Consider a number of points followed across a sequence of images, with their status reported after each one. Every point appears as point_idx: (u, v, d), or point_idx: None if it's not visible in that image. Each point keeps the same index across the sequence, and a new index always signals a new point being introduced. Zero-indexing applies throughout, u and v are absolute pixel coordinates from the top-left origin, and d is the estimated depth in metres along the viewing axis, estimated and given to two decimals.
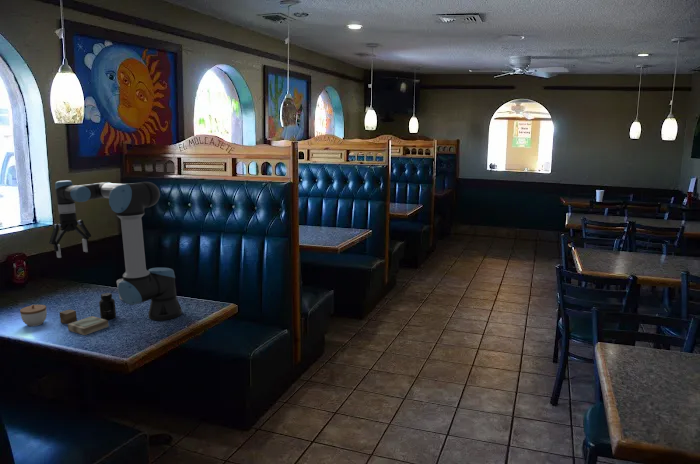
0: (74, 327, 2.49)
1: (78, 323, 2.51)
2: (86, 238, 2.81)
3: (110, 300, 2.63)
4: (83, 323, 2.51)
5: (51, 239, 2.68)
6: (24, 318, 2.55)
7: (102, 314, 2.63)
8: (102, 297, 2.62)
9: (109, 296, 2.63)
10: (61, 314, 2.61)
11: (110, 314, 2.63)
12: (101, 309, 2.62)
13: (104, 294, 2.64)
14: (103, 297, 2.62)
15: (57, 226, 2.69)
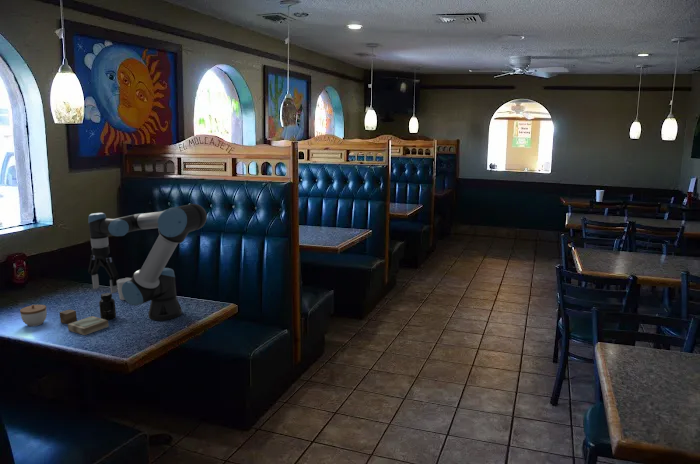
0: (74, 327, 2.49)
1: (78, 323, 2.51)
2: None
3: (110, 300, 2.63)
4: (83, 323, 2.51)
5: None
6: (24, 318, 2.55)
7: (102, 314, 2.63)
8: (102, 297, 2.62)
9: (109, 296, 2.63)
10: (61, 314, 2.61)
11: (110, 314, 2.63)
12: (101, 309, 2.62)
13: (104, 294, 2.64)
14: (103, 297, 2.62)
15: (90, 257, 2.63)
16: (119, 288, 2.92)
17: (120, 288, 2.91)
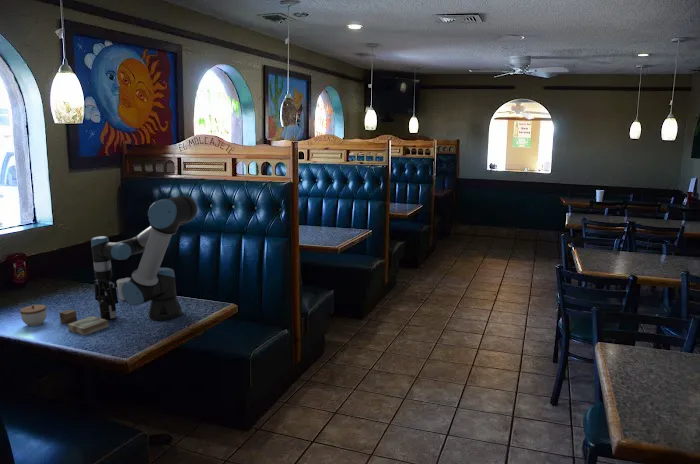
0: (74, 327, 2.49)
1: (78, 323, 2.51)
2: (110, 304, 2.62)
3: None
4: (83, 323, 2.51)
5: None
6: (24, 318, 2.55)
7: (102, 314, 2.63)
8: (102, 297, 2.62)
9: None
10: (61, 314, 2.61)
11: None
12: (101, 309, 2.62)
13: (104, 294, 2.64)
14: (103, 297, 2.62)
15: (94, 282, 2.65)
16: (119, 288, 2.92)
17: (120, 288, 2.91)
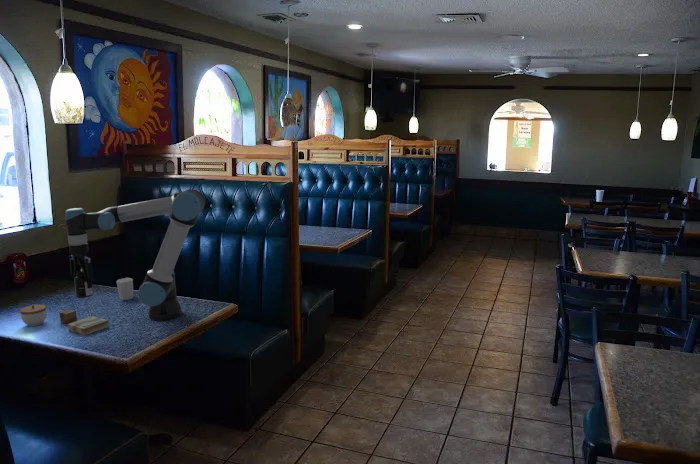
0: (74, 327, 2.49)
1: (78, 323, 2.51)
2: None
3: None
4: (83, 323, 2.51)
5: None
6: (24, 318, 2.55)
7: (77, 291, 2.47)
8: (77, 273, 2.46)
9: None
10: (61, 314, 2.61)
11: None
12: (76, 286, 2.47)
13: (79, 270, 2.48)
14: (78, 273, 2.46)
15: (69, 258, 2.49)
16: (119, 288, 2.92)
17: (120, 288, 2.91)
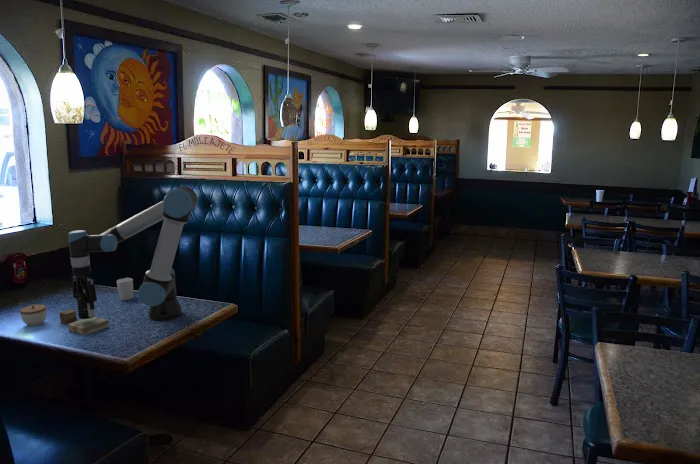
0: (74, 327, 2.49)
1: (78, 323, 2.51)
2: (88, 302, 2.48)
3: None
4: (83, 323, 2.51)
5: None
6: (24, 318, 2.55)
7: (80, 312, 2.49)
8: (80, 294, 2.48)
9: None
10: (61, 314, 2.61)
11: None
12: (79, 307, 2.48)
13: (82, 291, 2.50)
14: (81, 294, 2.48)
15: (72, 279, 2.51)
16: (119, 288, 2.92)
17: (120, 288, 2.91)
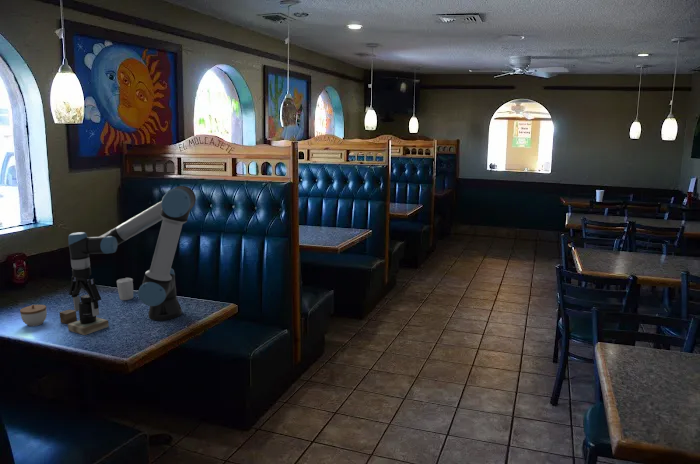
0: (74, 327, 2.49)
1: (78, 323, 2.51)
2: None
3: (90, 302, 2.50)
4: None
5: None
6: (24, 318, 2.55)
7: (81, 317, 2.49)
8: (82, 299, 2.49)
9: (89, 298, 2.50)
10: (61, 314, 2.61)
11: (90, 317, 2.50)
12: (80, 312, 2.49)
13: (84, 296, 2.50)
14: (83, 299, 2.49)
15: (71, 278, 2.51)
16: (119, 288, 2.92)
17: (120, 288, 2.91)
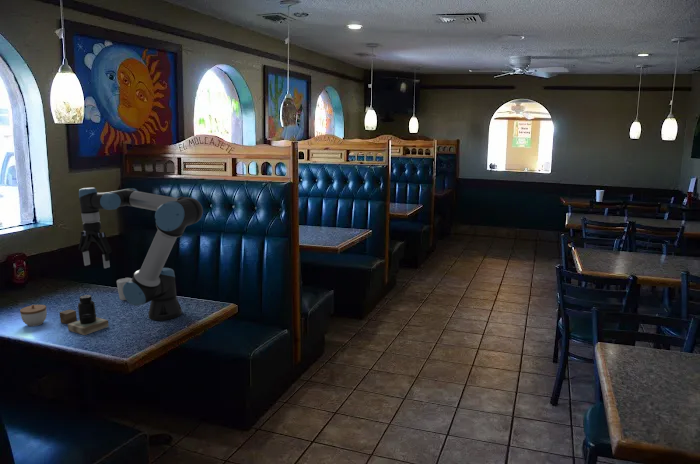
0: (74, 327, 2.49)
1: (78, 323, 2.51)
2: None
3: (89, 303, 2.50)
4: None
5: None
6: (24, 318, 2.55)
7: (81, 317, 2.49)
8: (81, 299, 2.49)
9: (88, 298, 2.49)
10: (61, 314, 2.61)
11: (89, 318, 2.50)
12: (80, 312, 2.49)
13: (83, 296, 2.50)
14: (82, 300, 2.48)
15: (81, 233, 2.60)
16: (119, 288, 2.92)
17: (120, 288, 2.91)
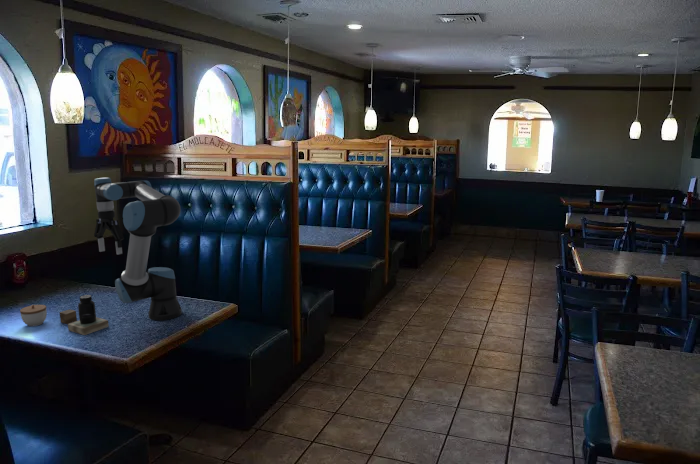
0: (74, 327, 2.49)
1: (78, 323, 2.51)
2: None
3: (89, 303, 2.50)
4: None
5: None
6: (24, 318, 2.55)
7: (81, 317, 2.49)
8: (81, 299, 2.49)
9: (88, 299, 2.49)
10: (61, 314, 2.61)
11: (89, 318, 2.50)
12: (80, 312, 2.49)
13: (83, 296, 2.50)
14: (82, 300, 2.48)
15: (96, 221, 2.74)
16: None
17: None
